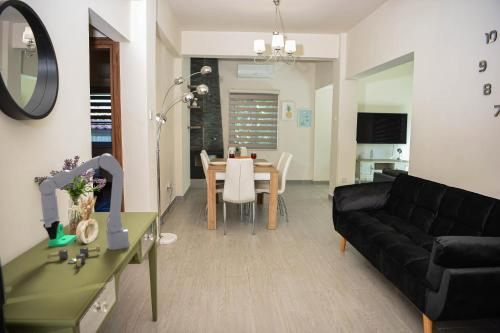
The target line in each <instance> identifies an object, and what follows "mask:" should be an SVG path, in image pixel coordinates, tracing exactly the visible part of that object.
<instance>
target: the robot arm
mask: <svg viewBox="0 0 500 333" xmlns="http://www.w3.org/2000/svg"><path fill="white" fill-rule="evenodd" d="M100 168H101V169H103V170H105V171H108V173H109V174H110V175H112V182H111V185H112V186H111V195H110V196H111V197H110V204H109V205H110V208H109V213H108V215H109V216H108V217H107V219H106V223H107V224H106V240H107V241H106V242H107V243H106V244H107V249H108V250H111V251H112V250H113V251H116V250H120V249H127V248H130V245H131V244H130V240H129V228H128V229H127V228H126V229H124V227H123V222H122V217H121V216H122V213H121V212H122V211H121V210H122V201H123V199H122V198H123V191H124V190H123V188H124V178H125V177H124V176H125V175H124V174H125V172H124V170H123V168H122V167H121V165H120V163H119V162H118V160H117V158H116V157H114V156H113V155H112V154H111V153H102V154H101V155H98V156H95V157H93V158H90V159H89V160H86V161H85V162H83V163H81V164H80V165H78V166H76V167H74V168H73V169H70V170H69V169H64V170H63V169H61V170H59V172H58V173H57V174H55V175H53V176H49V177H48V179H44V180H43V181H42V182H41V183H40V184H39V186H38V190H39V192H40V197H41V198H40V200H41V208H42V211H41V212H42V218H40V219H39V221H40V222H43V228H44V229H45V230H46V232H47V235H48V237H49V240H52V239H56V237H57V229H58V225H59V224H61V220H60V214H59V213H60V212H59V207H58V206H59V205H58V197H57V193H56V192H57V191H56V190H57V189H61V188H63V187H65V186H67V185H69V184H70V183H72V182H74V180H75V177H78V176H80V175H81V174H83V173H86V172H87V171H88V170H91V169H100Z"/></svg>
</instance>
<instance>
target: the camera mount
mask: <svg viewBox="0 0 500 333" xmlns="http://www.w3.org/2000/svg"><path fill="white" fill-rule="evenodd" d="M76 236H77V235H76V234H72V235H71V234H69V235H67V234H66V235H65V233H64V224H63V223H59V225H58V229H57V237H56V239H52V240H50V239H49V240H48V247H65V246H67V245H69V244H74V243H75V241H76V240H77V239H76Z"/></svg>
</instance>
